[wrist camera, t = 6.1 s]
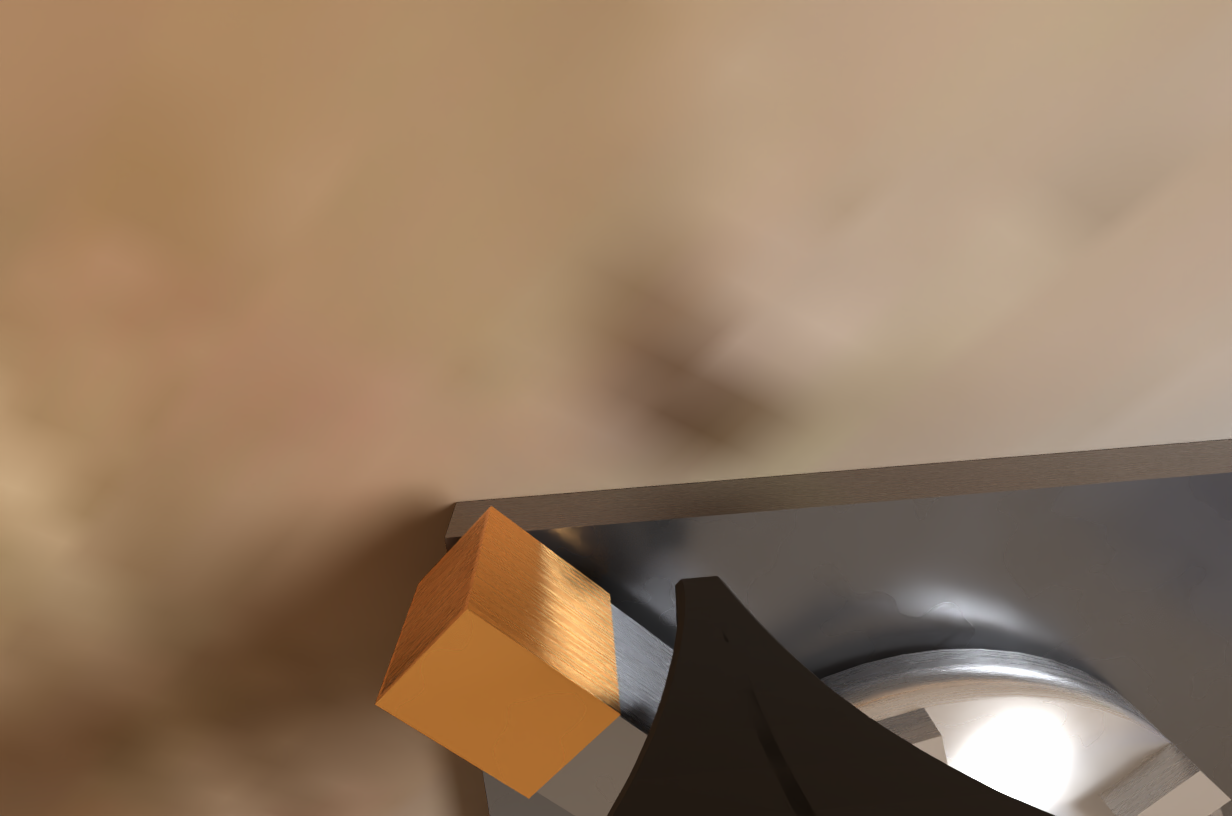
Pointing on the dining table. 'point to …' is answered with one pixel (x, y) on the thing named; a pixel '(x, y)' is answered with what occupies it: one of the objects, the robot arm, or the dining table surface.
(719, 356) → the dining table surface
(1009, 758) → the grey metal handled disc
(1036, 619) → the base plate
